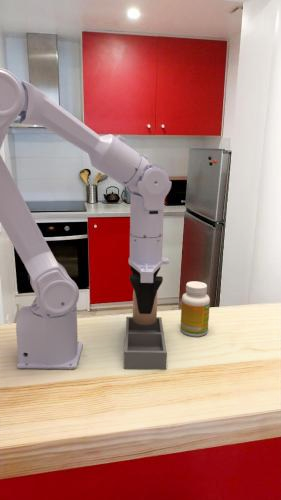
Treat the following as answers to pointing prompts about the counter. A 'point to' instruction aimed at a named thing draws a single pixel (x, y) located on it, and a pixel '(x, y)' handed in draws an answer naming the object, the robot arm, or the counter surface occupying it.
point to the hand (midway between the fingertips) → (144, 307)
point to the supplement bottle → (195, 309)
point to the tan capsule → (144, 318)
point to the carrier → (144, 345)
